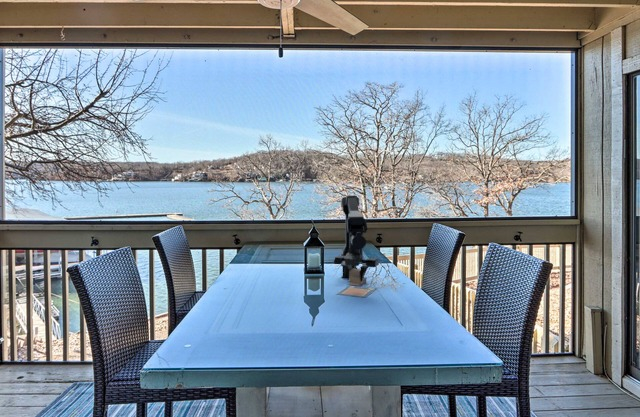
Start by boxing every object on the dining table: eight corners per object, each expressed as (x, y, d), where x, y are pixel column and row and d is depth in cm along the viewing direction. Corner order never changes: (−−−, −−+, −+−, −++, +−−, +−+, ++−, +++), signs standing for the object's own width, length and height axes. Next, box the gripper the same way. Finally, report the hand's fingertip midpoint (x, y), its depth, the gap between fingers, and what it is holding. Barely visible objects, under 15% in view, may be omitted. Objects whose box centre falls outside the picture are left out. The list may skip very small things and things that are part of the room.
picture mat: (336, 294, 178) (336, 293, 178) (348, 285, 191) (348, 285, 191) (365, 297, 172) (365, 297, 172) (376, 288, 186) (376, 288, 186)
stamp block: (352, 281, 184) (352, 268, 183) (362, 283, 182) (362, 269, 181) (349, 284, 180) (349, 270, 179) (359, 285, 178) (359, 271, 177)
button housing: (349, 284, 194) (349, 279, 194) (354, 281, 199) (354, 276, 199) (362, 285, 191) (362, 280, 191) (366, 282, 197) (366, 277, 197)
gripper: (328, 246, 176) (328, 283, 177) (371, 249, 168) (371, 287, 170) (338, 242, 186) (338, 277, 187) (379, 245, 178) (379, 281, 180)
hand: (356, 280), depth 181 cm, fingers closed on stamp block, 4 cm apart
